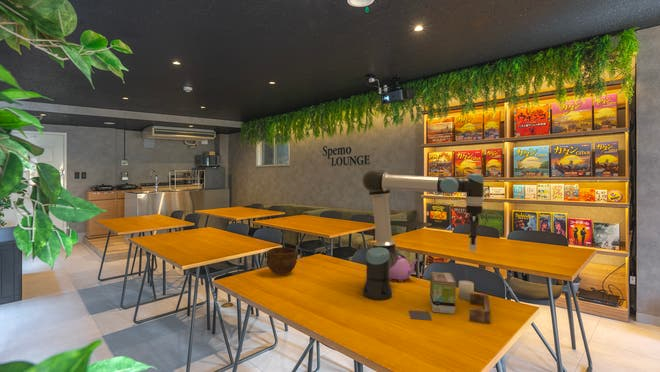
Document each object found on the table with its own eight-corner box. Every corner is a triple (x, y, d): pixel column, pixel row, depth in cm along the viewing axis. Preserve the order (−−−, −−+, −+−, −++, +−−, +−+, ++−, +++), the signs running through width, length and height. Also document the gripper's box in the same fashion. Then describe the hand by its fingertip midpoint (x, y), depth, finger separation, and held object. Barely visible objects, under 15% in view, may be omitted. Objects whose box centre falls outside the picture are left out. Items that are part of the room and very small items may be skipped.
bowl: (295, 278, 200) (295, 253, 200) (263, 278, 201) (263, 253, 200) (298, 269, 219) (298, 246, 219) (269, 269, 219) (269, 246, 219)
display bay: (469, 320, 144) (469, 309, 144) (470, 302, 164) (470, 292, 164) (489, 324, 141) (490, 312, 141) (488, 305, 161) (488, 295, 161)
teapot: (422, 279, 201) (422, 256, 200) (411, 286, 188) (412, 262, 188) (388, 272, 214) (389, 251, 213) (376, 278, 201) (377, 256, 201)
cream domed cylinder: (458, 299, 169) (458, 283, 169) (458, 295, 175) (459, 279, 175) (473, 301, 166) (473, 285, 166) (473, 297, 172) (473, 281, 172)
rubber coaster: (410, 320, 146) (410, 318, 145) (408, 311, 154) (408, 310, 154) (432, 321, 144) (432, 320, 144) (429, 313, 153) (429, 311, 153)
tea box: (455, 314, 151) (456, 281, 150) (432, 312, 153) (433, 280, 152) (450, 302, 165) (451, 272, 165) (429, 300, 167) (430, 270, 167)
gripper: (483, 208, 152) (481, 254, 153) (481, 203, 175) (480, 244, 176) (465, 207, 155) (463, 252, 156) (466, 202, 178) (464, 242, 179)
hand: (472, 248), depth 166 cm, fingers open, 13 cm apart
